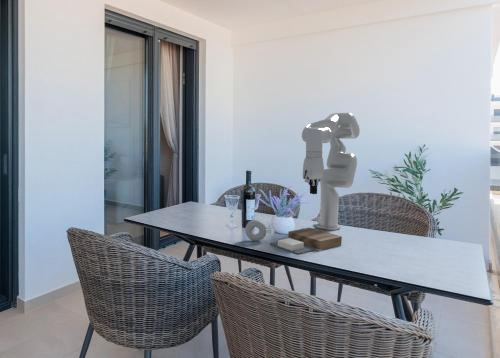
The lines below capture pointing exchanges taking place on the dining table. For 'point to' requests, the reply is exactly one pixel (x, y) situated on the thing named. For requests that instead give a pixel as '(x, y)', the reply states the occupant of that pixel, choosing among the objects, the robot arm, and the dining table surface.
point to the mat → (298, 251)
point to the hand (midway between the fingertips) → (313, 193)
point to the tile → (290, 244)
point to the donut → (260, 226)
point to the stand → (315, 238)
